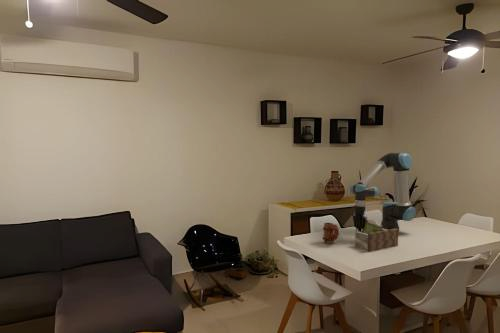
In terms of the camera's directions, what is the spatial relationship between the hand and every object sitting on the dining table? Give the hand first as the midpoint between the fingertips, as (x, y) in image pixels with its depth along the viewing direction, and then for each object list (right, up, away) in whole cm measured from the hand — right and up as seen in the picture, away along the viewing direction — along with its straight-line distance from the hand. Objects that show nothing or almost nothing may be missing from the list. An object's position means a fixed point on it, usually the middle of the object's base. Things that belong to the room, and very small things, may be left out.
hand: (358, 237), depth 256 cm
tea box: (+5, -2, -5) cm, 8 cm away
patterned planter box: (+8, -4, -13) cm, 15 cm away
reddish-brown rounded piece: (-22, -3, -8) cm, 24 cm away
